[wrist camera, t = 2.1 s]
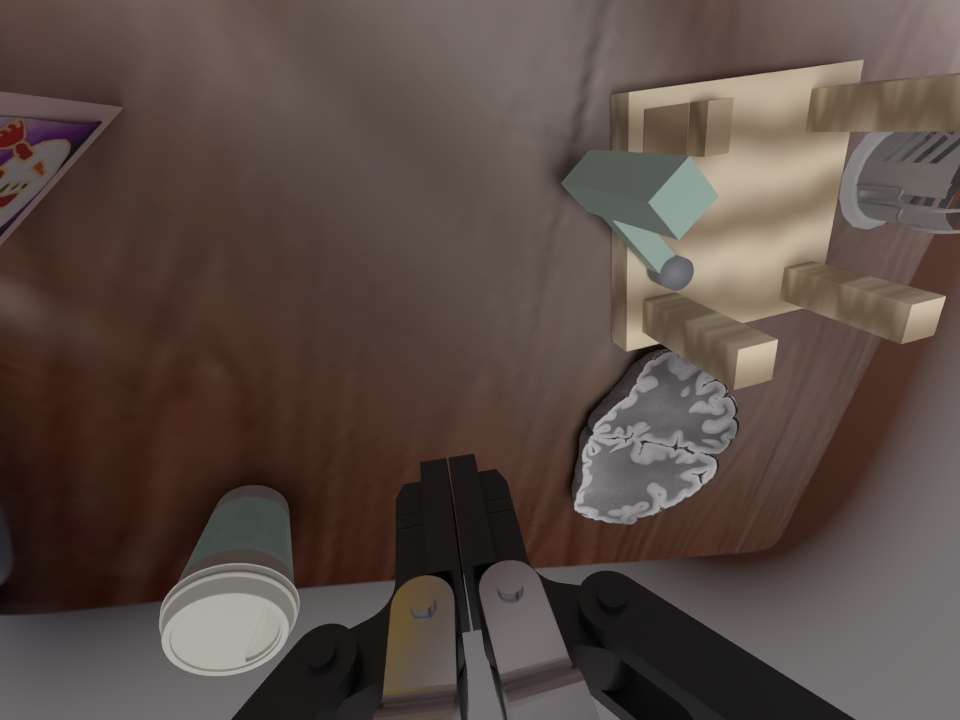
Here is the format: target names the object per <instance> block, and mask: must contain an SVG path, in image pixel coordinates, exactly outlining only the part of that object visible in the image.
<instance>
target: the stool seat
mask: <svg viewBox="0 0 960 720" xmlns="http://www.w3.org/2000/svg"><path fill="white" fill-rule="evenodd" d="M863 62H864V60H858V61H851V62H844V63H836V64H829V65H822V66H815V67H807V68H800V69H793V70H786V71H778V72H771V73H764V74H757V75H750V76H742V77H735V78H728V79H721V80H713V81H706V82H699V83H692V84H684V85H677V86H670V87H663V88H655V89H648V90H641V91H634V92H627V93H619V94H612V95H611V151H623V152H639V153H656V154H672V155H689V156H691V158H692V159H693V161H694V162H695V163H696V165H697V166H698V168H699V169H700V171H701V172H702V173H703V175H704V176H705V178H706V179H707V180H708V182H709V183H710V185H711V186H712V187H713V189H714V190H715V192H716V193H717V195H718V196H719V197H718V198H717V199H716V200H715V201H714V202H713V203H712V204H711V205H710V207H709V208H708V209H707V210H706V211H705V212H704V213H703V214H702V215H701V216H700V218H699V219H698V220H697V221H696V222H695V223H694V224H693V225H692V226H691V227H690V228H689V230H688V231H687V232H686V233H685V234H684V235H683V236H682V237H681V238H680V239H679V240H677V239H673V238H670V237H667V236H663V235H660V234H658V235H659V236H660V237H661V238H662V240H663V241H664V242H665V243H666V244H667V246H668V247H669V248H670V249H671V250H672V252H673V253H674V254H676V255H678V256H681V257H684V258H687V259H689V260H690V261H691V262H692V264H693V266H694V274H693V277H692V279H691V281H690V283H689V284H688V285H687V286H686V287H685V288H683V289H681V290H678V291H673V290H670V289H668V288H666V287H663V286H661V285H659V284H657V283H655V282H653V281H652V280H651V279H650V277H649V275H648V268H647V267H646V266H645V265H644V264H643V263H642V262H641V260H640V259H639V258H638V257H637V256H636V255H635V254H634V253H633V251H632V250H631V249H630V248H629V247H628V246H627V245H626V244H625V242H624V241H623V240H622V239H621V238H620V237H619V236H618V235H617V234H616V232H615V231H614V230H613V229H612V341H613V342H614V343H615V344H617V345H618V346H619V347H621V348H622V349H624V350H625V351H626V352H627V351H631V350H635V349H639V348H643V347H647V346H651V345H656V344H662V345H663V346H665V347H666V348H668V349H670V350H671V351H673V352H674V353H676V354H677V355H679V356H681V357H682V358H684V359H685V360H687V361H688V362H690V363H692V364H693V365H695V366H696V367H698V368H699V369H701V370H703V371H704V372H706V373H707V374H709V375H710V376H712V377H714V378H715V379H717V380H718V381H720V382H721V383H723V384H725V385H726V386H728V387H729V388H731V389H733V390H736V389H740V388H743V387H747V386H751V385H754V384H758V383H762V382H765V381H769V380H772V375H773V368H774V362H775V356H776V349H777V343H778V339H776V338H773V337H771V336H769V335H767V334H765V333H763V332H760V331H758V330H756V329H754V328H752V327H750V326H747V325H745V324H743V323H745V322H749V321H753V320H757V319H761V318H765V317H769V316H773V315H777V314H781V313H785V312H789V311H793V310H797V309H801V308H804V309H807V310H810V311H813V312H815V313H818V314H821V315H823V316H826V317H829V318H832V319H834V320H837V321H840V322H842V323H845V324H848V325H851V326H853V327H856V328H859V329H861V330H864V331H867V332H870V333H872V334H875V335H878V336H880V337H883V338H886V339H889V340H891V341H894V342H897V343H899V344H903V343H907V342H910V341H914V340H918V339H921V338H925V337H929V336H932V335H934V333H935V330H936V326H937V323H938V320H939V317H940V314H941V311H942V307H943V304H944V301H945V298H946V296H943V295H939V294H935V293H931V292H928V291H923V290H920V289H916V288H913V287H909V286H905V285H901V284H897V283H894V282H890V281H886V280H882V279H878V278H875V277H871V276H867V275H863V274H860V273H856V272H852V271H848V270H844V269H841V268H837V267H833V266H829V265H825V261H826V256H827V251H828V246H829V240H830V235H831V230H832V225H833V220H834V214H835V209H836V204H837V199H838V193H839V188H840V183H841V178H842V172H843V167H844V162H845V157H846V151H847V146H848V141H849V136H850V132H947V131H960V73H956V74H945V75H935V76H925V77H914V78H904V79H893V80H883V81H873V82H862V83H860V78H861V73H862V68H863Z"/></svg>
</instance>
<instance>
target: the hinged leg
mask: <svg viewBox="0 0 960 720" xmlns="http://www.w3.org/2000/svg"><path fill="white" fill-rule="evenodd" d="M561 184H562V186H563V187H564V188H565V189H566V190H567V191H568V192H569V193H570V194H571V195H572V197H573V198H574V199H575V200H576V201H577V202H578V203H579V204H580V205H581V207H582V208H583V209H584V210H585V211H586V212H588V213H591V214H595V215H598V216H601V217H602V218H603V219H604V220H605V221H606V222H607V223H608V225H609V226H610V227H611V228H612V229H613V230H614V231H615V232H616V234H617V235H618V236H619V237H620V238H621V239H622V240H623V241H624V242H625V244H626V245H627V246H628V247H629V248H630V249H631V250H632V251H633V253H634V254H635V255H636V256H637V257H638V258H639V259H640V260H641V262H642V263H643V264H644V265H645V266H646V267H647V268H648V275H649V277H650V279H651V280H652V281H653V282H655V283H657V284H659V285H661V286H663V287H666V288H668V289H670V290H673V291H678V290H681V289H683V288H685V287H686V286H687V285H688V284H689V283H690V281H691V279H692V277H693V274H694V266H693V264H692V262H691V261H690V260H689V259H687V258H684V257H681V256H678V255H676V254H674V253H673V252H672V250H671V249H670V248H669V247H668V246H667V244H666V243H665V242H664V241H663V240H662V238H661V237H660V236H659V235H658V234H660V235H663V236H667V237H670V238H673V239H677V240H679V239H680V238H681V237H682V236H683V235H684V234H685V233H686V232H687V231H688V230H689V228H690V227H691V226H692V225H693V224H694V223H695V222H696V221H697V220H698V219H699V218H700V216H701V215H702V214H703V213H704V212H705V211H706V210H707V209H708V208H709V207H710V205H711V204H712V203H713V202H714V201H715V200H716V199H717V198H718V197H719V196H718V195H717V193H716V192H715V190H714V189H713V187H712V186H711V185H710V183H709V182H708V180H707V179H706V178H705V176H704V175H703V173H702V172H701V171H700V169H699V168H698V166H697V165H696V163H695V162H694V161H693V159H692V158H691V156H689V155H672V154H656V153H639V152H623V151H606V150H589V151H588V152H587V153H586V154H585V156H584V157H583V158H582V159H581V160H580V161H579V163H578V164H577V165H576V166H575V167H574V169H573V170H572V171H571V172H570V173H569V174H568V176H567V177H566V178H565V179H564V180H563V181H562V183H561Z"/></svg>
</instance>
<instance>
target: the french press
mask: <svg viewBox="0 0 960 720" xmlns="http://www.w3.org/2000/svg"><path fill="white" fill-rule="evenodd" d="M947 132H949V133H950V134H951V136H950V137H949V138H947V137H946V136H945V134H946V133H947ZM947 132H933V133H934V134H935V135H934V136H933V137H932V138H931V137H930V136H929V135H928V134H929V133H930V132H869V133H868V134H867V135H866V136H865V138H864V139H863V140H862V141H861V143H860V144H859V145H858V147H857V148H856V149H855V150H854V152H853V153H852V155H851V157H850V159H849V162H848V164H847V166H846V169H845V171H844V173H843V175H842V180H841V187H840V194H839V200H840V205H841V210H842V215H843V216H844V218H845V219H846V220H847V221H848V222H849V223H850V224H851V225H852V226H853V227H857V228H861V229H866V230H867V229H870V228H874V227H877V226H881V225H883V224H885V223H886V222H894V223H898V224H900V225H902V226H903V227H906V228H908V229H910V230H915V231H922V232H929V233H938V234H951V233H952V234H953V233H960V229H958V230H953V229H952V227H953V226H955V225H956V223H957V221H958V219H959V216H960V198H959V200H958V201H957V203H956V205H955V207H954V209H946V207H947V205H948V204H949V202H950V200H951V198H952V197H953V195H954V194H955V193H956V191H957V190H958V189H959V187H960V131H947ZM939 139H940V140H939ZM956 140H957V141H956ZM950 184H952V186H951V187H950V188H949V185H950ZM948 189H949V190H948ZM921 196H922V197H927V199H926V201H925V203H924V204H923V206H921V205H917V203H918V201H919V199H920V198H921ZM935 198H941V199H942V200H941V202H940V204H939V206H938V207H931V206H932V204H933V202H934V200H935ZM946 213H951V216H950V219H949V221H948V222H947V220H946ZM907 224H908V225H907ZM910 225H912V226H910ZM914 226H922V227H926V228H931V227H934V228H932V229H940V230H929V229H923V228H917V227H914Z"/></svg>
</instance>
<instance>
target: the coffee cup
mask: <svg viewBox="0 0 960 720" xmlns="http://www.w3.org/2000/svg"><path fill="white" fill-rule="evenodd" d="M299 605H300V602H299V596H298V593H297V590H296V588H295V587H294V577H293V562H292V548H291V533H290V519H289V507H288V504H287V501H286V500H285V498H284V497H283V496H282V495H281V494H280V493H279V492H277V491H276V490H274V489H272V488H269V487H266V486H261V485H247V486H242V487H238V488H236V489H233V490H231V491H230V492H228V493H226V494H225V495H224V496H223V497H222V498H221V499H220V500H219V502H218V504H217V506H216V508H215V509H214V511H213V513H212V515H211V517H210V519H209V521H208V523H207V525H206V527H205V529H204V531H203V533H202V535H201V537H200V539H199V541H198V543H197V545H196V547H195V549H194V551H193V553H192V555H191V557H190V559H189V561H188V563H187V565H186V567H185V569H184V571H183V573H182V575H181V577H180V579H179V581H178V583H177V585H176V586H174V587H173V588H172V590H171V591H170V592H169V593H168V594H167V596H166V598H165V599H164V601H163V604H162V607H161V611H160V620H159V628H160V633H161V636H162V647H163V650H164V652H165V654H166V656H167V657H168V658H169V659H170V661H171V662H173V663H174V664H175V665H176V666H178V667H180V668H182V669H183V670H186V671H188V672H191V673H195V674H200V675H206V676H225V675H233V674H238V673H242V672H245V671H248V670H251V669H253V668H256V667H258V666H260V665H261V664H263V663H265V662H267V661H268V660H270V659H271V658H272V657H273V656H274V655H276V654H277V653H278V652H279V651H280V649H281V648H282V647H283V645H284V643H285V642H286V640H287V637H288V635H289V633H290V632H291V630H292V628H293V627H294V625H295V622H296V619H297V615H298V612H299Z"/></svg>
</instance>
